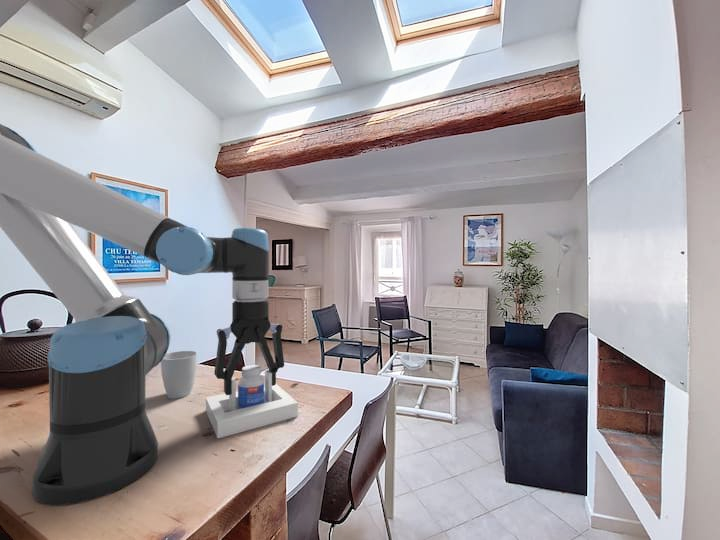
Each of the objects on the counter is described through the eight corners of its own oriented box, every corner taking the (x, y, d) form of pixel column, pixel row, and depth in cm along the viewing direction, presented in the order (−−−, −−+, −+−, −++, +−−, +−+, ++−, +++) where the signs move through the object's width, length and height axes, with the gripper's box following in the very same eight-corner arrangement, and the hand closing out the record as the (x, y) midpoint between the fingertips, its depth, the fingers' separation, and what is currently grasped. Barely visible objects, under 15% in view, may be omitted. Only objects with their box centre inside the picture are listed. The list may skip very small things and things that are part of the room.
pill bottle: (247, 420, 66) (246, 373, 66) (233, 413, 70) (232, 368, 70) (269, 410, 71) (268, 366, 71) (254, 404, 74) (254, 362, 74)
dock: (217, 438, 60) (217, 422, 60) (201, 401, 76) (201, 389, 76) (297, 416, 69) (297, 402, 69) (267, 387, 85) (267, 376, 85)
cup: (203, 388, 84) (203, 351, 84) (184, 401, 76) (184, 359, 76) (175, 387, 85) (175, 350, 85) (152, 400, 77) (152, 359, 77)
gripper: (203, 304, 61) (203, 423, 61) (300, 298, 72) (300, 399, 73) (197, 300, 67) (197, 409, 68) (287, 296, 79) (287, 389, 79)
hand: (250, 404), depth 70 cm, fingers open, 7 cm apart
